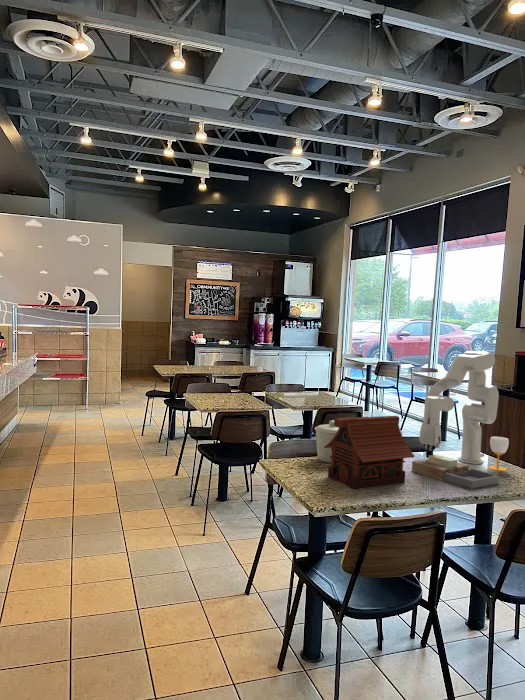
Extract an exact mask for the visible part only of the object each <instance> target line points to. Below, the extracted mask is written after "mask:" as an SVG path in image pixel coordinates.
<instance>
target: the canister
mask: <svg viewBox="0 0 525 700" xmlns="http://www.w3.org/2000/svg"><path fill="white" fill-rule="evenodd" d="M338 429H339V428H338V427H335V426H334V419H332V420H329V422H328V423H327V424H319V425H317V426H315V427H314V430H315V440H316V452H317V455H316V456H317V458H318V459H319V461H321V462H324V463H329V464H331V461H332V458H330V456H332V451H331V448H324V446H326V445H327V444H328V443H330V441H331V440H332V439H333V438H334V437H335V435H336V434H337V433H336V432H337V431H338Z"/></svg>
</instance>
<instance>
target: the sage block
mask: <svg viewBox="0 0 525 700" xmlns="http://www.w3.org/2000/svg"><path fill="white" fill-rule="evenodd" d="M457 462H458V459H457V458H456V459H455V458H451V457H448V456H445V457H444V458H439V465H442V466H446V467H455V466H457Z"/></svg>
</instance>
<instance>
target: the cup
mask: <svg viewBox="0 0 525 700" xmlns="http://www.w3.org/2000/svg"><path fill="white" fill-rule="evenodd" d="M509 444H510V441H509V438H507V437H503V436H496V435H495V436H491V437H490V439H489V445H490V449H491V452H492V453H494V454H495V455H497V458H496V459H497V460H496V465H488V466H487V468H488V469H490V470H493V471H496V472H507V471H508V468H505V467H502V466H499V465H500V464H499V463H500V456H502V455H504V454H505V453H506V452H507V450H508V448H509Z"/></svg>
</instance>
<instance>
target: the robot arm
mask: <svg viewBox="0 0 525 700" xmlns="http://www.w3.org/2000/svg"><path fill="white" fill-rule="evenodd" d="M495 362H496V357H495V355H494V354H493V353H492V352H490V351H489V352H488V351H477V350H467V351H464V352H463V353H462V354H458V355H456V356H455V357H454V359H453V361H452V363H451V364H450V367H449V369H448V370H447V373H446V374H445V376H443V378H441V379H440V380H438V381H437V382H436V383H433V385H432V386H431V387H430V388H429V390H428V392H427V394H426V396H425V398H424V408H423V409H424V412H423V417H422V420H423V422H422V423H421V426H420V431H419V442H420V444H421V445H422V446H424V448H425V450H426V452H425V456H426V457H425V459H429V455H434V451H435V450H436V449H439V448H440V445H441V443H442V442H441V441H442V430H441V429H442V428H441V425H440V422H441V421H440V419H441V412H449V411H452V410H453V409H454V407H455V400H454V399H453V398H452V397H450V396H446V395H442V394H441V393H443V392H445V391H447V390H450V389H453V388H457V387H459V386H461V385H462V383H463V381H464V379H465V377H466V375H467V373H468V385H467V392H466V393H467V395H466V397H467V398H468V400H470V401H473V402H468V403H466V404H463V406H462V408H461V415H462V435H461V436H462V438H461V439H462V440H461V453H460V456H458V457H457V461H459V462H460V463H464V462H465V463H466V464H470V465H471V464H473V465H481V464H483V463H484V460H483V459H482V458H484V457H485V453H482V452H481V451H482V450H481V447H482V433H483V432H482V430H483V429H482V426H481V424H489V425H492V424H493V423H494V422H495V421H496V419H497V414H498V407H499V395H500V394H499V390H498V388H497V387H496V386H495V385H491V384H487V383H486V382H487V380H486V379H487V374H486V370H488V369H491V368H492V367H494V365H495ZM474 402H479V403H474ZM481 403H484V404H481ZM480 423H481V424H480ZM465 463H464V464H465Z"/></svg>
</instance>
